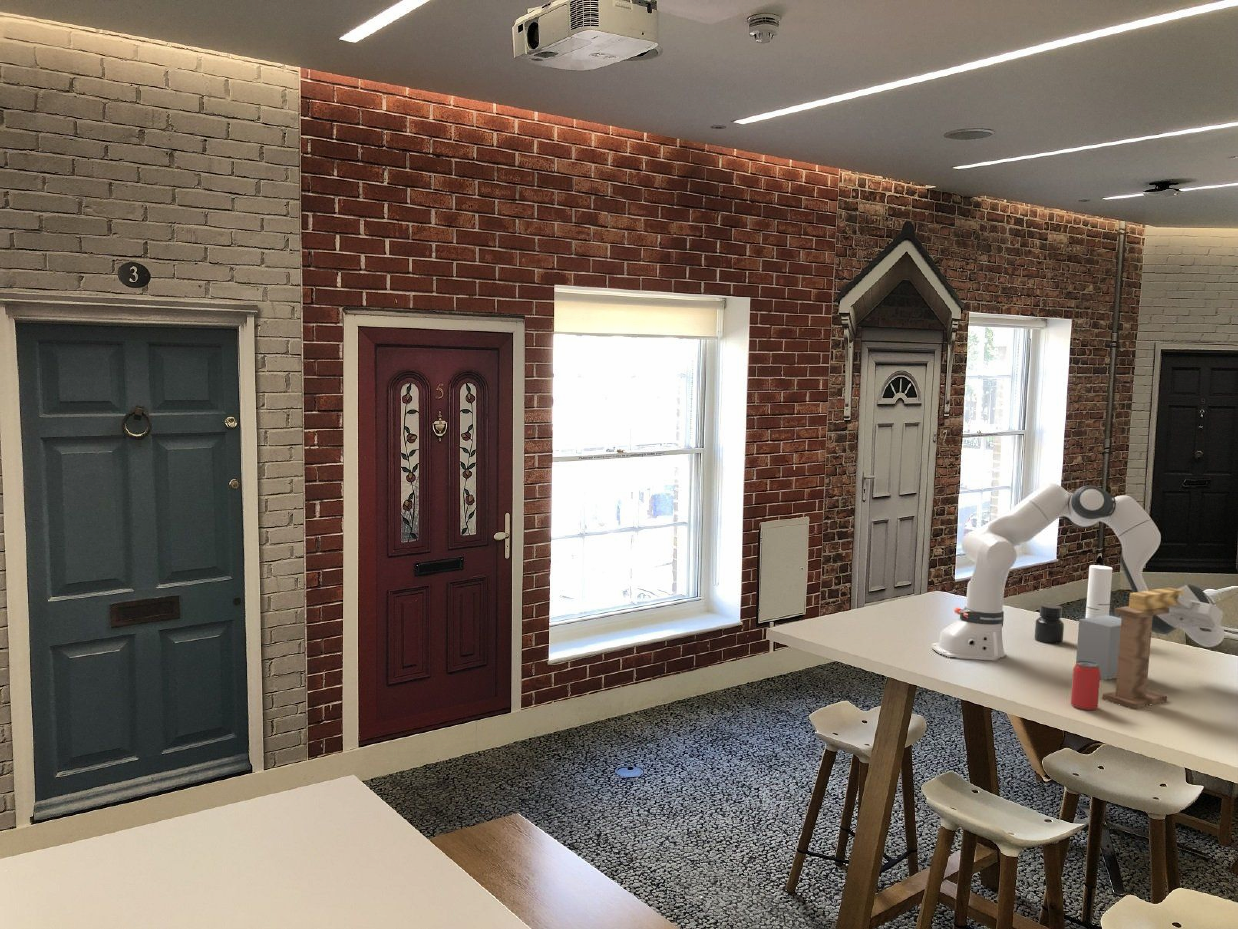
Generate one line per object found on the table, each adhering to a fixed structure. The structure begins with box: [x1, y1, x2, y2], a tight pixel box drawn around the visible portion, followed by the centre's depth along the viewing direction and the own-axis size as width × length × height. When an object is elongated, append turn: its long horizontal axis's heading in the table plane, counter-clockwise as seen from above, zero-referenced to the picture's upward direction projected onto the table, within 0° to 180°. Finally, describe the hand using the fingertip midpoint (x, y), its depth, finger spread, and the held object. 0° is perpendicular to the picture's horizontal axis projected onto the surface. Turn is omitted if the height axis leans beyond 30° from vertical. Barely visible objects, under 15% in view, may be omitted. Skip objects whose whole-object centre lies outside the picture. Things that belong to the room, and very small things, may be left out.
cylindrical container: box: [1085, 564, 1113, 618], centre depth 338 cm, size 7×7×25 cm
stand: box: [1101, 605, 1169, 710], centre depth 270 cm, size 16×9×26 cm, turn 121°
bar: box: [1128, 587, 1183, 611], centre depth 272 cm, size 19×4×4 cm, turn 121°
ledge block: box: [1075, 614, 1122, 681], centre depth 297 cm, size 14×10×16 cm
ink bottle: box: [1034, 603, 1065, 644], centre depth 333 cm, size 10×9×12 cm
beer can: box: [1070, 661, 1101, 711], centre depth 264 cm, size 7×7×12 cm
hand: (1167, 595), depth 275 cm, fingers closed on bar, 4 cm apart
